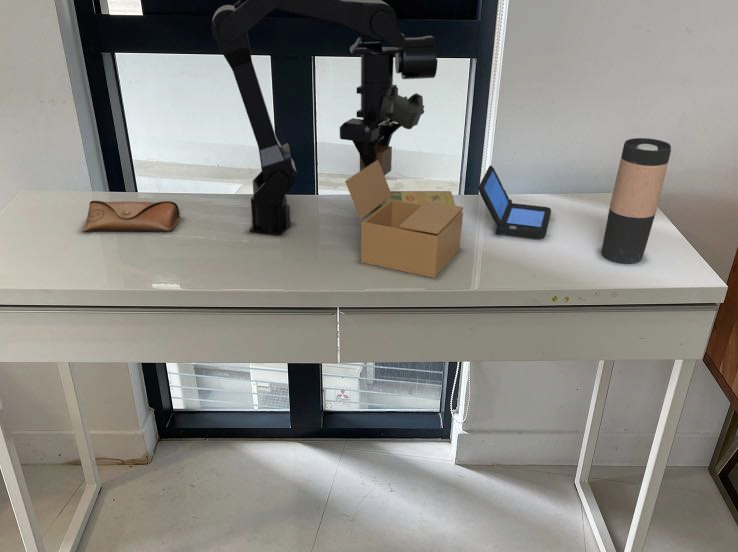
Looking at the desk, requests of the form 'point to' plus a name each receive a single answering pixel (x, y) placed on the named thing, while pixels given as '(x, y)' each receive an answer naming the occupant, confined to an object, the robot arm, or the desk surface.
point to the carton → (420, 197)
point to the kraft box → (412, 236)
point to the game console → (512, 210)
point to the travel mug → (635, 199)
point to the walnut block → (382, 158)
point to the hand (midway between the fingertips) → (375, 167)
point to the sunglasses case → (132, 216)
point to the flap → (368, 188)
